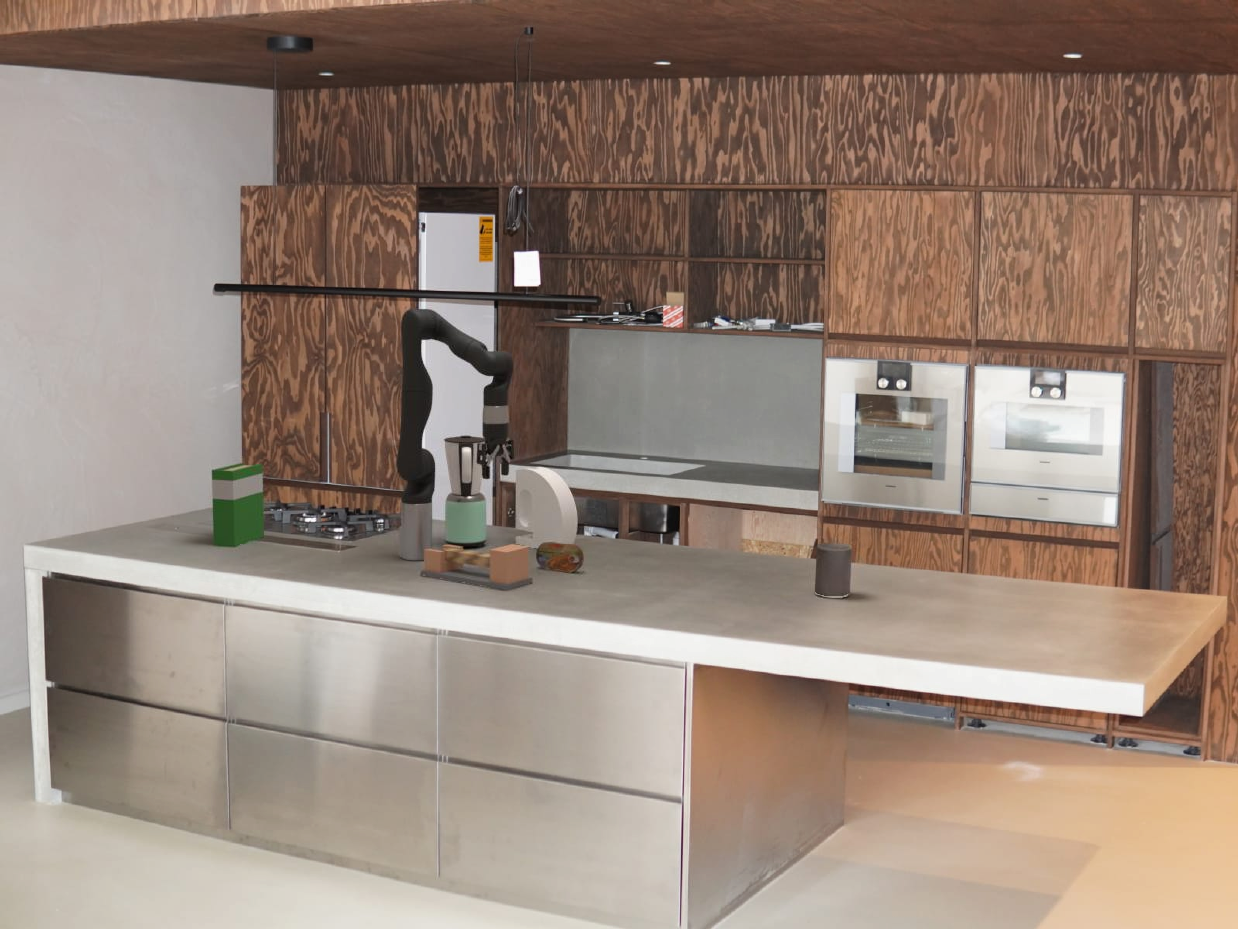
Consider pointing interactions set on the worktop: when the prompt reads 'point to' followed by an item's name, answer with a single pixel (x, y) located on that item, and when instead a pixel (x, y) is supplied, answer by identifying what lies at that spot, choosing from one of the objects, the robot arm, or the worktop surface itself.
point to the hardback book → (237, 504)
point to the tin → (559, 557)
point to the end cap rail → (504, 569)
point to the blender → (464, 494)
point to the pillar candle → (833, 569)
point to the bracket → (544, 508)
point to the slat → (467, 557)
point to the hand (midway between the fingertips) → (495, 477)
